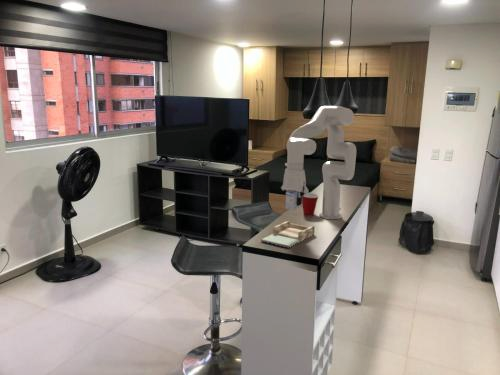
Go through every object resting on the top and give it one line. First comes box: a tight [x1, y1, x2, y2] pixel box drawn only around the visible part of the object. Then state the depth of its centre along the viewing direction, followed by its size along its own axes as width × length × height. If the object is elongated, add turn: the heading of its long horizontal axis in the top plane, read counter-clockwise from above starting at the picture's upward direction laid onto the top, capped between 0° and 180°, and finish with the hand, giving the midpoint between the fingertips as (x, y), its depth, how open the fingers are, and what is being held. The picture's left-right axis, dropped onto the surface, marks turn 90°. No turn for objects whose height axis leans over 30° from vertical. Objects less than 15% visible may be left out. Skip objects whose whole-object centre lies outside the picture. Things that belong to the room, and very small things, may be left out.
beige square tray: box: [272, 220, 316, 243], centre depth 198 cm, size 14×15×4 cm
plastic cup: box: [302, 192, 320, 216], centre depth 235 cm, size 11×11×12 cm
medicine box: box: [285, 190, 304, 211], centre depth 195 cm, size 8×4×9 cm, turn 141°
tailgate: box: [260, 233, 301, 249], centre depth 189 cm, size 1×15×11 cm
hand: (294, 204), depth 195 cm, fingers closed on medicine box, 4 cm apart
